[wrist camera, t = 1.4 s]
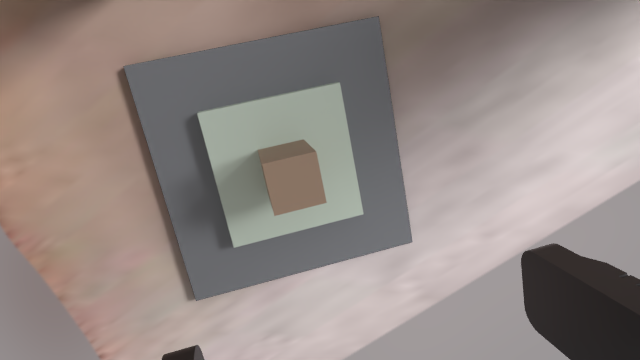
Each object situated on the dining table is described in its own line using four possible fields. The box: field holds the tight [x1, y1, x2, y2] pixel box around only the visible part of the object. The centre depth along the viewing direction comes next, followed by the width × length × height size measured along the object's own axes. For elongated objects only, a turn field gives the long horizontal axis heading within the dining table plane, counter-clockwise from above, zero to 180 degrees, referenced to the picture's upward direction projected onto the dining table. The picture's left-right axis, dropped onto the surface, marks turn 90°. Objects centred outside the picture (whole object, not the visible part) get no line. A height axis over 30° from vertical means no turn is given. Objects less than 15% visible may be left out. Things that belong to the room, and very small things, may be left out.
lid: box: [197, 82, 363, 248], centre depth 26 cm, size 9×9×6 cm
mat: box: [123, 16, 412, 301], centre depth 29 cm, size 16×16×1 cm
